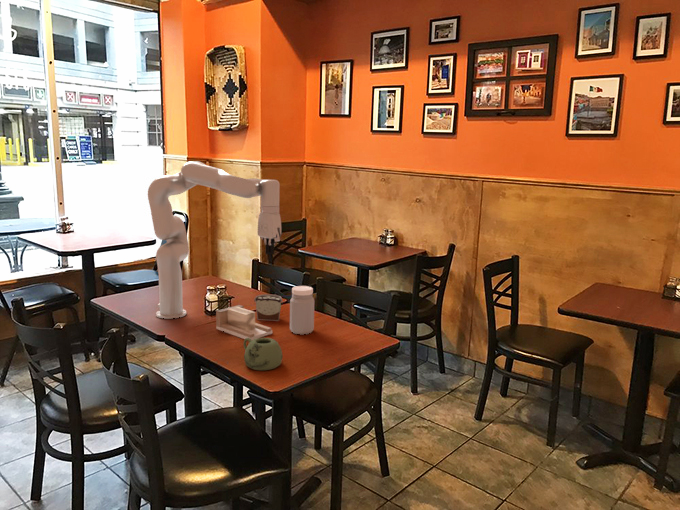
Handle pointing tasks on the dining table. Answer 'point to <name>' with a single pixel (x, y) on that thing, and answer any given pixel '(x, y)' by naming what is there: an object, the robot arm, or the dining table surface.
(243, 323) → the beige rectangular block
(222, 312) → the floor frame
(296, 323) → the jar
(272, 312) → the food container
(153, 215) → the robot arm
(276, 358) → the green rounded hollow pot
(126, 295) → the dining table surface
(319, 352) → the dining table surface
